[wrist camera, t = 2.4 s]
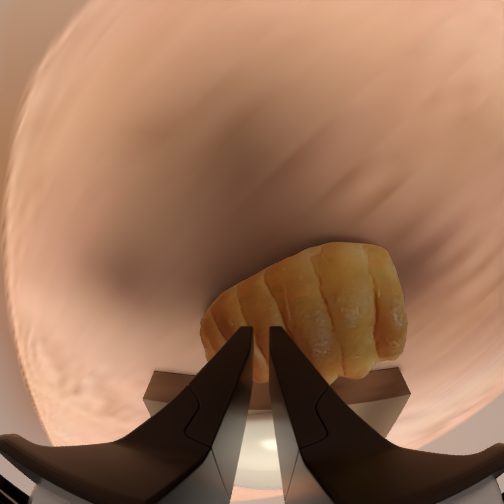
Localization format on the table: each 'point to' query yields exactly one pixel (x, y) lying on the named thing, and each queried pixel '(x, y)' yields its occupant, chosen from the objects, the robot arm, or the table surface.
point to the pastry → (318, 310)
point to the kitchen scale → (261, 420)
